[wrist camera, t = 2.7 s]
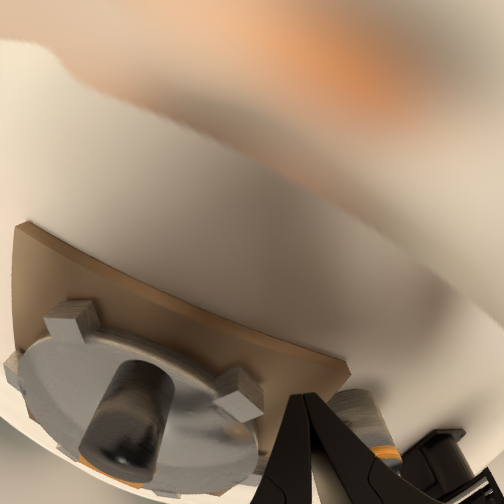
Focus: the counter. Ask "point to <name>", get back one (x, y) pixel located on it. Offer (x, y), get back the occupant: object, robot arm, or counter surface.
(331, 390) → the sprocket base
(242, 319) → the counter surface
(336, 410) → the roller
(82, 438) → the sprocket
